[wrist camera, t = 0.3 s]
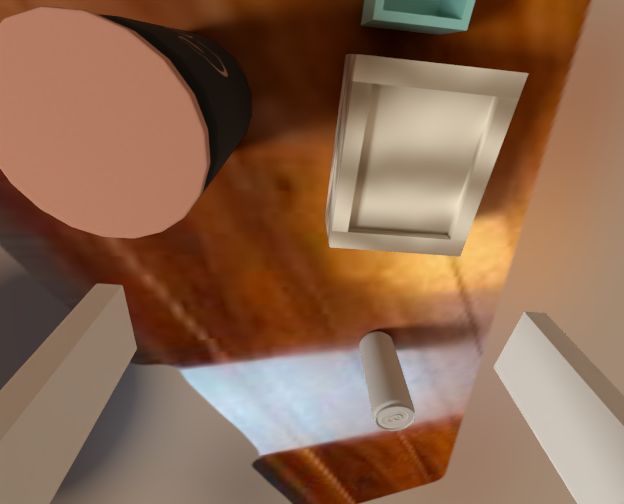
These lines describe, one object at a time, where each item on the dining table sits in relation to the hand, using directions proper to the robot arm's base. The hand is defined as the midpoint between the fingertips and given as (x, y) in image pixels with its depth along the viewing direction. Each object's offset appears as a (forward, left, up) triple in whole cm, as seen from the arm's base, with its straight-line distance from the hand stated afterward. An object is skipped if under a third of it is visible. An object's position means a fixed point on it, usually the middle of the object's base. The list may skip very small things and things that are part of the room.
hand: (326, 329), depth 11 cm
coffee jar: (-3, -11, -26) cm, 29 cm away
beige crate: (0, +9, -26) cm, 28 cm away
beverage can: (+27, +12, -26) cm, 39 cm away
